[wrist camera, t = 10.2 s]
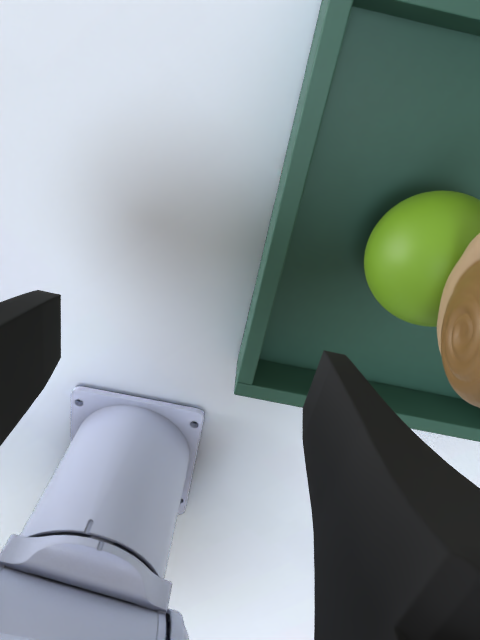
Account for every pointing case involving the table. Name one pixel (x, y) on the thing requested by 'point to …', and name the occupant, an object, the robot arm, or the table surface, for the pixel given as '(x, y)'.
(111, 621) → the robot arm
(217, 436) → the table surface
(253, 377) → the tray
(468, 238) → the googly-eyed toy snail
